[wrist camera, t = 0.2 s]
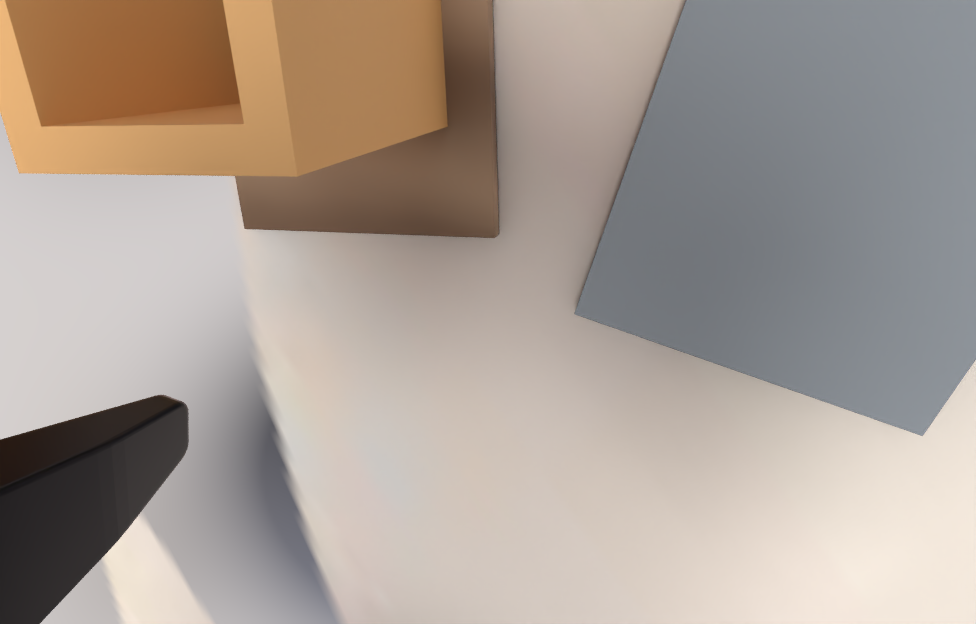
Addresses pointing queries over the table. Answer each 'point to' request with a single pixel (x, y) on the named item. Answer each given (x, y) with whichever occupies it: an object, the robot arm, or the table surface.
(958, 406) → the table surface
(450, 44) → the stand
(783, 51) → the rubber mat
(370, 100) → the c link
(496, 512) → the table surface
